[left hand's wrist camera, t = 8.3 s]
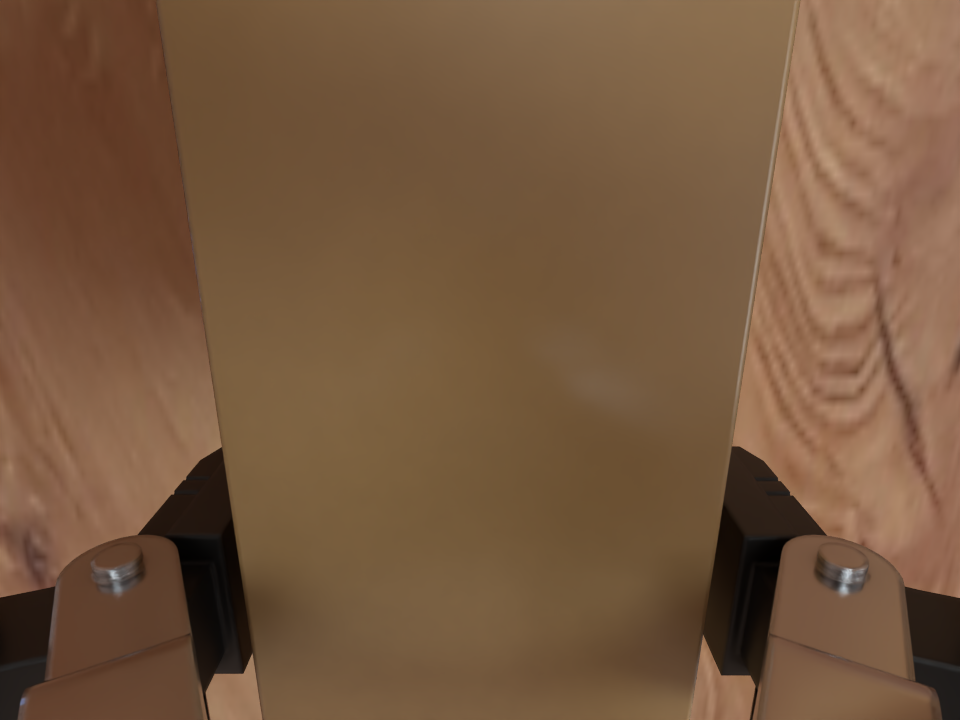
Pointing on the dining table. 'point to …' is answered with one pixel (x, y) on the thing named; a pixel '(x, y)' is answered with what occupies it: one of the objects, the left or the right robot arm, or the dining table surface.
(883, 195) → the dining table surface
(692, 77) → the box
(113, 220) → the dining table surface
